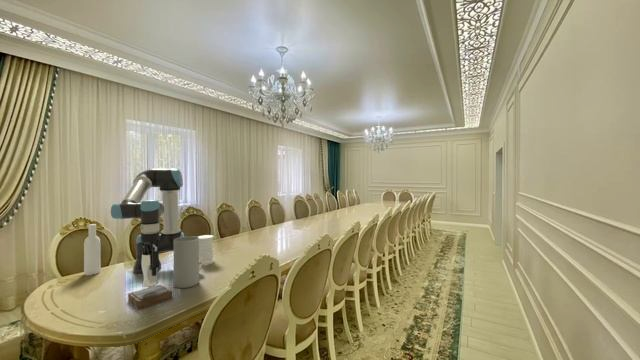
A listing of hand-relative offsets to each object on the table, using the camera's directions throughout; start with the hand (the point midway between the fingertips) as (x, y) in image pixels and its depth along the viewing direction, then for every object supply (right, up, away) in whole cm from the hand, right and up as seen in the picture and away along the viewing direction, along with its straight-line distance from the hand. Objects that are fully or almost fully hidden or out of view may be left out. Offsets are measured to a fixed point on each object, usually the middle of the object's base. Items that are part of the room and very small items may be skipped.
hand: (150, 280), depth 129 cm
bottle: (-59, -9, +37) cm, 70 cm away
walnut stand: (0, -9, 0) cm, 9 cm away
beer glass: (0, -2, 0) cm, 2 cm away
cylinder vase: (+8, -9, +19) cm, 23 cm away
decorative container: (+2, -9, +57) cm, 58 cm away
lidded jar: (+4, -9, +34) cm, 35 cm away
